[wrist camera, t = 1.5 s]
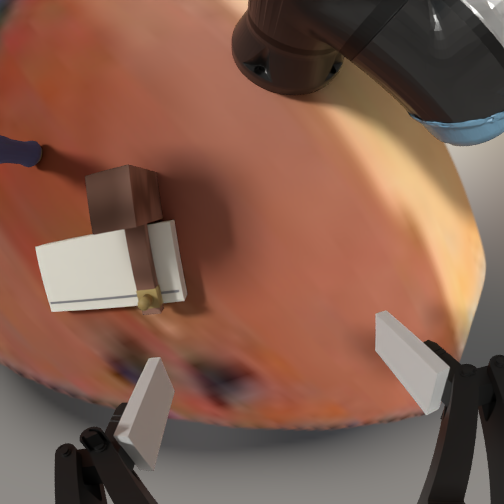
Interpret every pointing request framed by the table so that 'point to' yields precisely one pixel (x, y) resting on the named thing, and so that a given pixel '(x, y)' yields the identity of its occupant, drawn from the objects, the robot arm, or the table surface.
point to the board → (108, 269)
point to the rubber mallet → (19, 152)
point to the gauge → (129, 222)
